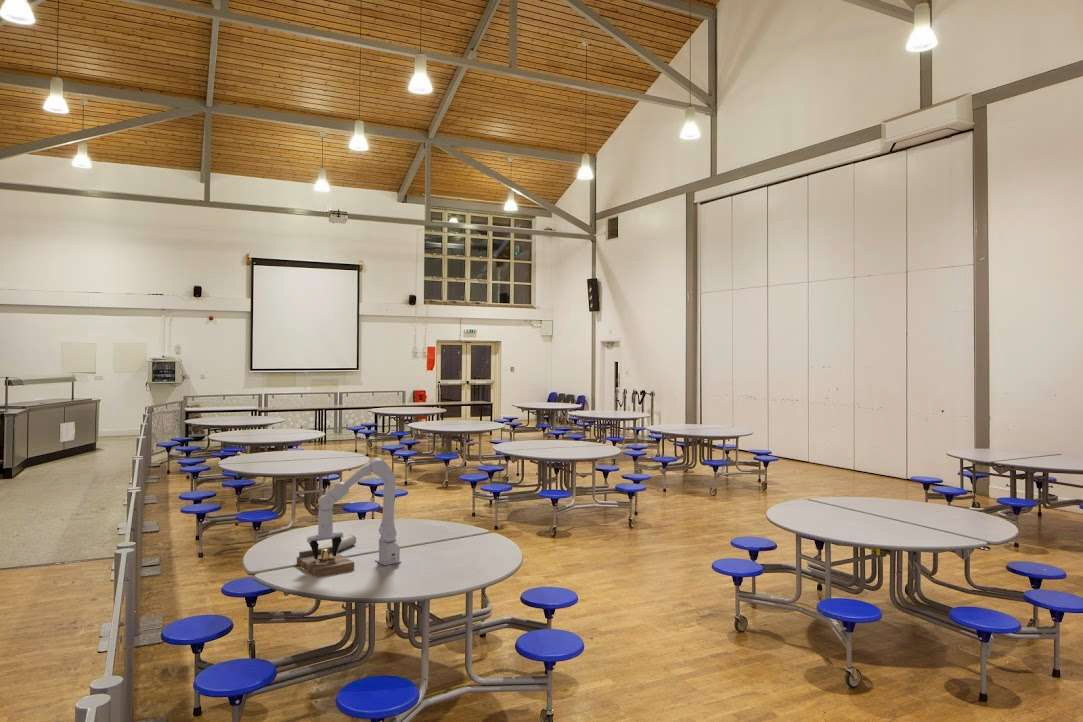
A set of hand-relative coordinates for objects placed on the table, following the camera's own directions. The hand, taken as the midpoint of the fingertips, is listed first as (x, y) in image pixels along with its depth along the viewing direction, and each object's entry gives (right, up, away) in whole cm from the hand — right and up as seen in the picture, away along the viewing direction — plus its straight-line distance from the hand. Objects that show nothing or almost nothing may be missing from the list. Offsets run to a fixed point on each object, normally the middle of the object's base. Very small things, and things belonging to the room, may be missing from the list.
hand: (325, 557), depth 276 cm
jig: (0, -4, 0) cm, 4 cm away
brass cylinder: (0, -4, 0) cm, 4 cm away
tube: (-3, -5, +23) cm, 24 cm away
